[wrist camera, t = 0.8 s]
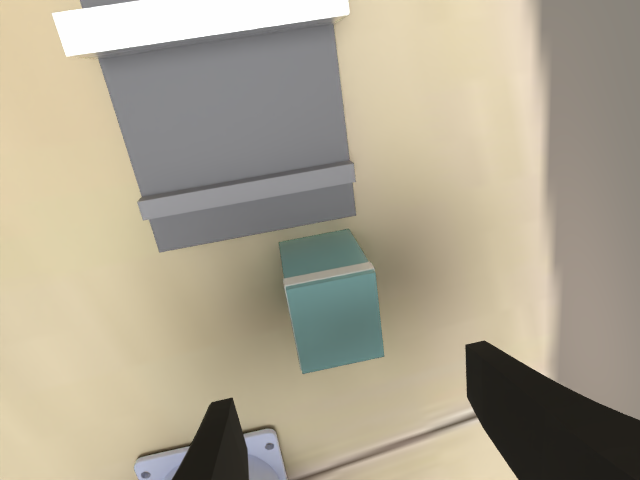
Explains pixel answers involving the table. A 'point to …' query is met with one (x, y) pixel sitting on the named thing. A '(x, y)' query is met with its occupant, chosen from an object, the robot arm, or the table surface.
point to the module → (331, 300)
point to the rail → (184, 23)
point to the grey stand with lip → (234, 134)
